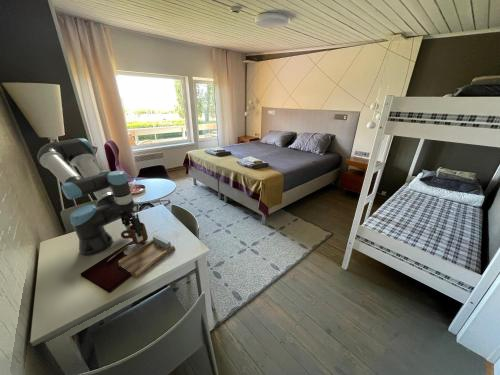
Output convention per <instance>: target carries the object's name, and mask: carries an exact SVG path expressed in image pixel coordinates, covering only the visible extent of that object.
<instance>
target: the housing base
mask: <svg viewBox="0 0 500 375" xmlns="http://www.w3.org/2000/svg"><path fill="white" fill-rule="evenodd" d="M175 250H176V247H175V246H174V244H171V247H169V248H168V249H166V248H164V247H162V246H160V245H158V244H156V243H154V240H153V238H152V239H151V240H149V241H148V242H146V243H145V244H144V243H143V245H141V246H140V247H138V248H136V249H135V250H134V251H132V252H130V253H129V254H127V255H125V256H124V257H122V258H121V259H119V260H118V261H117V262H118V263H117V265H119V266H118V267H120V266H121V267H122V268H124V269H125V270H127V271H128V272H130V273H131V274H130V273H129V274H130V275H131V276H133V277H134V278H135V279H138V278H140V276H142V275H143V274H144V273H146V272H147V271H148V270H150V269H151V268H152V267H154V266H155V265H157V264H158V263H159V262H161V261H162V260H163V259H164V258H166V257H167V256H169V255H170V254H171V253H173V252H174V251H175ZM121 267H120V268H121ZM122 268H121V269H122ZM124 269H123V270H124ZM125 270H124V271H125ZM127 271H126V272H127ZM128 272H127V273H128Z"/></svg>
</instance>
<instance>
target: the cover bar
mask: <svg viewBox="0 0 500 375" xmlns="http://www.w3.org/2000/svg"><path fill="white" fill-rule="evenodd" d="M152 239H153V240H154V243H156V244H158V245H160V246H162V247H164V248H166V249H168V248H169V247H171V246H172V244H171V243H172V242H171V240H168V239H166V238H164V237H162V236H159V235H158V234H154V235H153V236H152Z"/></svg>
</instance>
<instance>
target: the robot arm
mask: <svg viewBox="0 0 500 375" xmlns="http://www.w3.org/2000/svg"><path fill="white" fill-rule="evenodd" d="M93 147H94V146H93V145H92V144H91V142H89V140H87V139H86V138H81V137H80V138H73V139H66V140H65V139H64V140H60V141H59V140H58V141H52V142H48V143H46V144H44V145H43V146H42V147H40V149H39V150H38V153H37V161H38V163H39V165H41V166H42V167H43V168H45V169H47V170H49V171H50V172H51V173H52V174H53V176H54V177H56V178H57V180H58V181H59V182H60V183H61V186H60V188H61V191H62V193H63V195H64V196H65V198H66V199H68V200H74V199H78V198H81V197H84V196H87V195H90V194H93V195H94V196H95V198H96V199H97V201H96V205H95V204H92V203H91V204H85V205H83V206H80V207H78V208H76V209H74V211H72V212H71V213H70V215H69V220H70V223H71V226H72V228H73V229H74V231H75V234H76V236H77V238H78V250H79V252H80V254H81V255H83V256H93V255H96V254H99V253H103V252H104V251H105V250H107V249H109V248H110V247H111V246H112V244H113V242H114V238H113V237H112V235H110V234H109V232H107V230H106V229H105V226H107V225H109V224H111V223H114V222H116V221H118V220H120V219H121V222H122V223H121V224H122V225H123V226H124V227H125V230H129V228H130V226H131V225H132V226H133V228H134V230H135V231H136V232H134V233H135V235H136V238H137V241H138V242H140V241H142V240H143V237H142V234H141V231H142V230H143V228H142V226H141V223H142V222H141V221H140V218H139V214H138V213H135V211H134V208H135V207H136V204H135V201H134V197H133V193H132V191H131V187H130V184H129V180H128V177H127V174H126V172H125V171H124V170H114V171H111V170H105V169H104V170H101V171H100V168H99V167H98V165H97V164H96V163H95V161H94V160H95V156H96V151H95V149H94V148H93ZM68 163H70V164H68ZM72 166H74V167H76V168H77V170H78V171H79V173H80V174H81V175H80V174H79V173H78V172H77V170H75V169H74V168H72ZM127 235H131V234H130V233H127Z"/></svg>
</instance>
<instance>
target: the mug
mask: <svg viewBox="0 0 500 375" xmlns="http://www.w3.org/2000/svg"><path fill="white" fill-rule="evenodd" d="M140 223H141V226H142V228H143V230H142V231H141V234H142V237H143V240H142V241H140V242H138V241H137V238H136V235H135V233H134V232H136V231H135V230H134V228H133V226H132V224H130V225H131V226H130V228H129V230H127V229H125V230H123V231H122V232H120V237H121V238H122V239H123V240H124V239H125V240H126V239H127V240H128V239H132V242H133V243H134V244H135V245H141V244H144V243H145V242H146V241H147V240H148V232H147V228H146V226H145V223H143V222H140ZM128 233H130V234H131V235H128ZM125 234H126V235H125Z"/></svg>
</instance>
